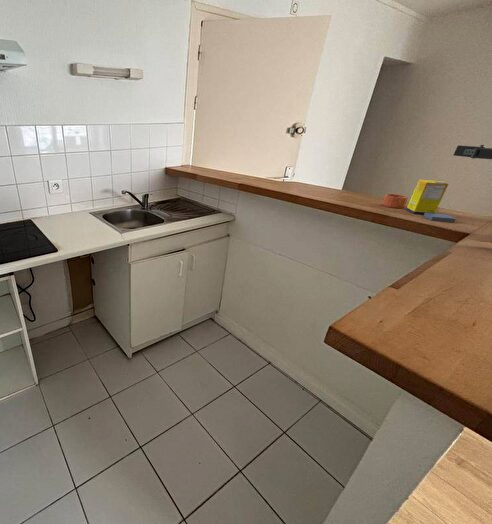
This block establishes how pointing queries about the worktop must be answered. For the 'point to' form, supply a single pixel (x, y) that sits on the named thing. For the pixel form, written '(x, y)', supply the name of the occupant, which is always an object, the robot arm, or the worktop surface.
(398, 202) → the ramekin
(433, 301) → the worktop surface
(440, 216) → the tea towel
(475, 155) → the robot arm
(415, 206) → the supplement box
